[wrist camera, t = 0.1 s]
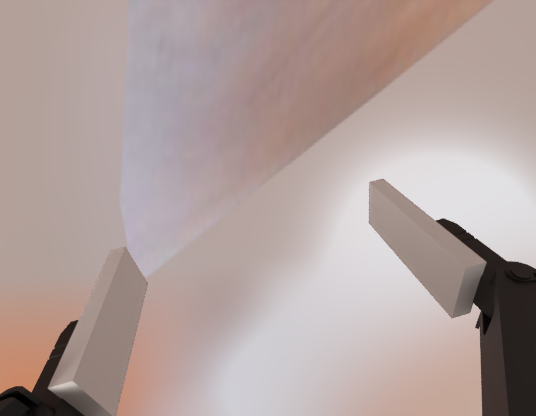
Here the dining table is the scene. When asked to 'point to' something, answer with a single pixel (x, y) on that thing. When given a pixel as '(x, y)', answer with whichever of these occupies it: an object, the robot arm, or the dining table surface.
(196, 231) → the dining table surface
